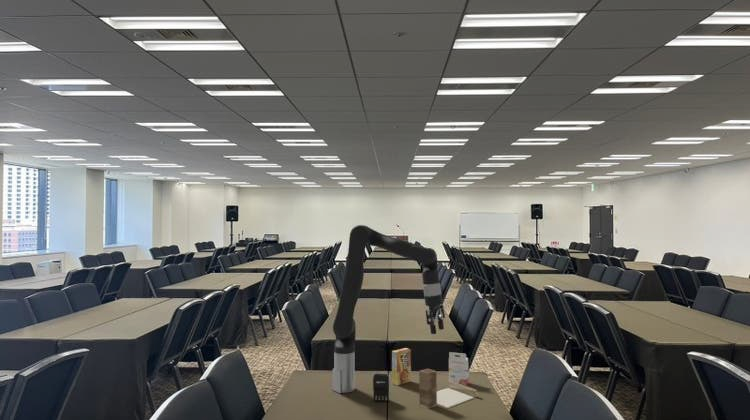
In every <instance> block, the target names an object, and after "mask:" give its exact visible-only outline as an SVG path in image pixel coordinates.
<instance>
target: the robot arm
mask: <svg viewBox="0 0 750 420" xmlns="http://www.w3.org/2000/svg"><path fill="white" fill-rule="evenodd" d="M348 238H349V241H348V249H347V250H348V251H347V257H346V262H345V266H344V269H343V270H344V271H343V274H342V275H343V276H342V281H341V285H340V292H339V301H338V307H337V311H336V315H335V318H334V321H333V325H332V330H333V333H334V335H335V341H334V348H333V351H334V353H333V354H334V355H333V358H334V360H333V361H334V362H333V363H334V364H333V365H334V366H333V367H334V368H332V372H331V373H332V374H331V375H332V377H331V378H332V391H334V392H336V393H339V394H345V393H346V394H347V393H351V392H354V391H355V387H356V386H355V385H356V383H355V366H356V365H355V364H356V363H355V347H356V328H357V327H356V321H355V318H354V312H355V308H356V305H357V303H358V301H359V297H360V294H361V291H362V286H363V282H364V273H365V271H364V270H365V269H364V268H365V267H364V255H365V252H366V247H367V246H370V247H377V248H380V249H383V250H385V251H388V252H390V253H392V254H395V255H396V256H400V257H402V258H406V259H410V260H412V261H415V262H417V263H419V264H421V265H422V274H421V275H422V284H423V286H422V287H423V288H422V289H423V296H424V303H425V306H426V307H428V309H426V310H425V316H426V317H425V318H426V325H429V328H430V329H429V330H430V333H431V335H436V334H437V328H436V326H438V330H444V329H445V328H444V319H446V316H445V309H444V305H443V303H444V302H443V297H442V296H443V294H442V288H441V284H440V277H439V271H438V255H437V253H436V251H435V249H433V248H431V247H422V246H420V245H416V244H415V243H413V242H411V241H407V240H404V239H400V238H397V237H393V236H389V235H386V234H383V233H381V232H379V231H377V230H374V229H373V228H371V227H369V226H367V225H363V224H358V225H355V226H353V227H352V229H351V230H350V232H349V237H348ZM436 321H437V325H436Z"/></svg>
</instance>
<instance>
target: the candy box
mask: <svg viewBox="0 0 750 420" xmlns="http://www.w3.org/2000/svg"><path fill="white" fill-rule="evenodd" d="M411 381H412V349H410V348H408V347H404V348H400V349H396V350H391V383H392V385H395V386H401V385H404V384H406V383H409V382H411Z"/></svg>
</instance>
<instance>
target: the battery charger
mask: <svg viewBox="0 0 750 420" xmlns="http://www.w3.org/2000/svg"><path fill="white" fill-rule="evenodd" d="M372 390H373V392H372V393H373V401H374V402H378V403H379V402H383V403H385V402H389V401H390V375H389V374H388V373H386V372H376V373H374V374H373V377H372Z"/></svg>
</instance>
